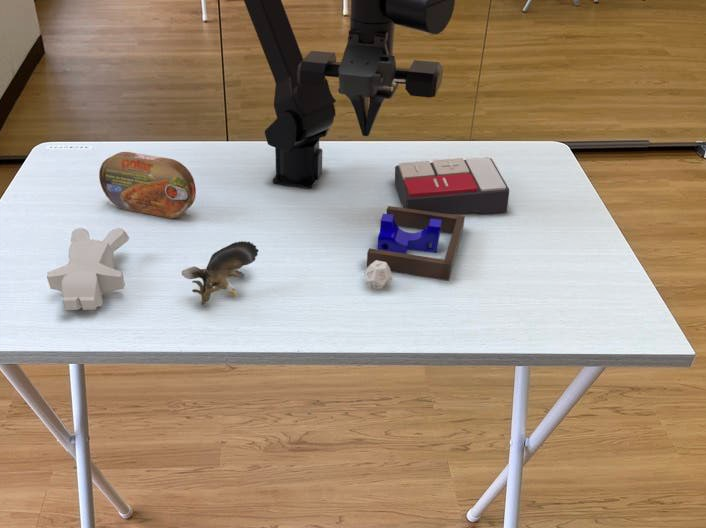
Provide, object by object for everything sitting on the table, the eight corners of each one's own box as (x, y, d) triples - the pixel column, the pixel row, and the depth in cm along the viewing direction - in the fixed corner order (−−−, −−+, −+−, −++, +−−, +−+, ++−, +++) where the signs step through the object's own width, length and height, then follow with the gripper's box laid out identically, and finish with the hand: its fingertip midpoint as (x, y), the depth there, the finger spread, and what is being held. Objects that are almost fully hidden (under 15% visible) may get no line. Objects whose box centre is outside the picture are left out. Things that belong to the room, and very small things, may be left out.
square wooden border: (366, 267, 104) (367, 251, 102) (386, 221, 113) (388, 205, 111) (448, 280, 101) (451, 264, 99) (462, 231, 110) (465, 216, 109)
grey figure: (35, 290, 94) (61, 215, 104) (46, 321, 97) (70, 246, 107) (113, 290, 93) (132, 215, 103) (121, 321, 97) (138, 246, 107)
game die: (397, 286, 100) (399, 266, 98) (374, 295, 99) (375, 275, 97) (380, 274, 103) (382, 254, 101) (357, 282, 101) (359, 263, 99)
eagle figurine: (241, 310, 95) (272, 262, 100) (204, 266, 91) (238, 219, 96) (201, 321, 100) (233, 275, 105) (166, 280, 97) (200, 235, 102)
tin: (103, 205, 118) (93, 153, 112) (114, 196, 120) (104, 144, 114) (191, 223, 113) (185, 169, 108) (201, 213, 115) (196, 160, 110)
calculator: (394, 160, 119) (491, 152, 119) (393, 186, 122) (488, 178, 122) (406, 194, 111) (511, 185, 111) (405, 221, 114) (507, 212, 114)
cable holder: (377, 251, 107) (379, 226, 104) (381, 239, 109) (382, 213, 107) (435, 258, 105) (439, 232, 102) (438, 245, 108) (441, 219, 105)
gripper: (283, 30, 95) (285, 151, 106) (435, 43, 91) (421, 168, 101) (309, 5, 103) (308, 119, 114) (449, 15, 99) (435, 133, 109)
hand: (366, 135), depth 109 cm, fingers closed
